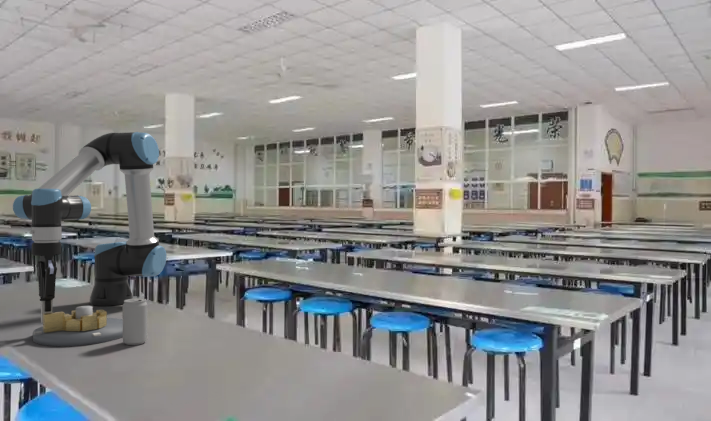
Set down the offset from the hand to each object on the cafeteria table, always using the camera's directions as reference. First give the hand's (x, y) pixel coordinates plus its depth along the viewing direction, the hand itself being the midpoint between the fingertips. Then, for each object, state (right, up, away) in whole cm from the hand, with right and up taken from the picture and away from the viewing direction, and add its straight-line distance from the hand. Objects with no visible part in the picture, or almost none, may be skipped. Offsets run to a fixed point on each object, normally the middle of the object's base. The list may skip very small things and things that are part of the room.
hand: (46, 322), depth 158 cm
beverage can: (+29, -4, -8) cm, 30 cm away
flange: (+10, -4, +1) cm, 11 cm away
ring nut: (+8, -2, 0) cm, 9 cm away
